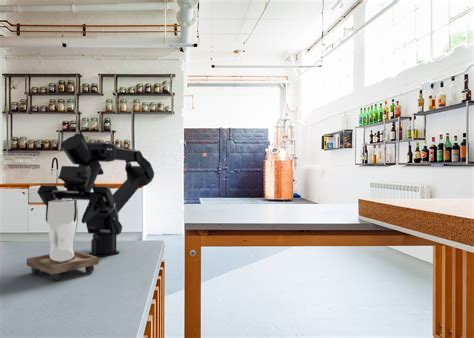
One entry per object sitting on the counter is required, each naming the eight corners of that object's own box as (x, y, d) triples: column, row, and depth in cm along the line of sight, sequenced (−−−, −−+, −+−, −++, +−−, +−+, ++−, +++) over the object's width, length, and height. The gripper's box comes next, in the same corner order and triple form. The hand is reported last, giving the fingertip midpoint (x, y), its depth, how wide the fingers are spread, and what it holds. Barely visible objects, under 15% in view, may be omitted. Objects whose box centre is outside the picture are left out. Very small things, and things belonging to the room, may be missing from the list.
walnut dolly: (71, 264, 107) (72, 250, 107) (98, 272, 100) (98, 257, 100) (26, 273, 97) (26, 258, 97) (52, 283, 90) (52, 266, 90)
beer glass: (81, 261, 99) (82, 201, 98) (52, 265, 94) (53, 202, 94) (70, 256, 104) (71, 198, 103) (42, 260, 99) (43, 200, 99)
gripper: (41, 154, 105) (14, 200, 94) (110, 155, 103) (91, 202, 92) (56, 182, 113) (33, 227, 102) (120, 184, 111) (104, 230, 100)
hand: (64, 221), depth 99 cm, fingers open, 9 cm apart
